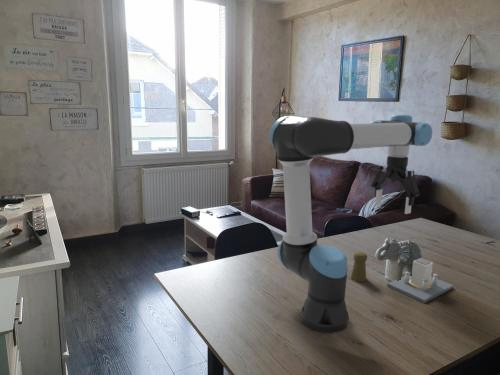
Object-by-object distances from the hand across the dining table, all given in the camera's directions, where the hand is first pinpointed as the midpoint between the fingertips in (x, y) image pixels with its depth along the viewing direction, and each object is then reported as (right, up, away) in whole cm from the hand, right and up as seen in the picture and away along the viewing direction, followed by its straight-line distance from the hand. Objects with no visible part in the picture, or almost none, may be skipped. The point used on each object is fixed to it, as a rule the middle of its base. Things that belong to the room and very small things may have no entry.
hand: (392, 209), depth 147 cm
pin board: (+9, -30, -4) cm, 31 cm away
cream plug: (+9, -28, -4) cm, 30 cm away
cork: (-13, -28, +2) cm, 31 cm away
